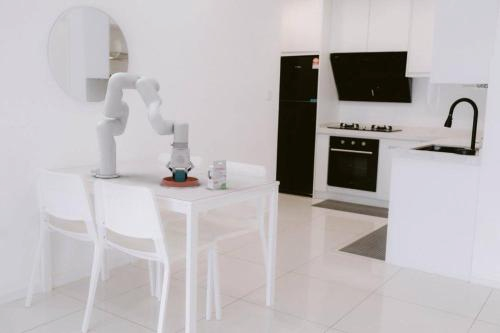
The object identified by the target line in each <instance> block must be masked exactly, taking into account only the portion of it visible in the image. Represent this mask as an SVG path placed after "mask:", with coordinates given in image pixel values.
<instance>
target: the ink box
mask: <svg viewBox="0 0 500 333" xmlns="http://www.w3.org/2000/svg"><path fill="white" fill-rule="evenodd" d="M212 162H213V165H207V184H206V185H207V189H210V190H218V189H221V190H225V189H227V160H226V159H221V160H220V159H219V160H213V161H212Z"/></svg>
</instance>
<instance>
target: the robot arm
mask: <svg viewBox="0 0 500 333" xmlns="http://www.w3.org/2000/svg"><path fill="white" fill-rule="evenodd" d="M160 87H161V86H160V83H159V81H158V80H157V79H155V78H153V77H150V76H146V75H143V74H138V73H133V72H132V73H131V72H124V71H123V72H122V71H121V72H120V71H119V72H116V73H113V74H111V75H110V76H109V78H108V81H107V89H106V94H105V98H104V102H103V106H102V114H103V116H104V117H106V118H109V119H102V120H100V121H98V122H97V123H96V126H95V133H96V136H97V155H98V156H97V160H98V161H97V162H98V165H97V166H98V167H97V168H90V169H89V170H90V171H89V172H90V173H92V174H95V177H96V178H99V179H100V178H101V179H113V178H118V177H120V173H118V172H117V143H116V140H115V137H118V136H121V135H123V134H124V133H125V130H126V128H127V124H128V119H129V115H130V107H129V104H128V103H127V102H126V101H124V100H123V97H124V96H123V95H124V94H123V93H124V92H123V89H125V90H136V91H137V93H138V94H139V96H140V97H141V99H142V101H143V103H144V105H145V106H146V108H147V118H148V121H149V123H150V125H151V127H152V128H153V130H154V131H155V133H156V134H157V135H159V136H173V140H172V141H173V142H170V146H171V147H172V148H171V150H170V158H169V161H168V162H167V164H166V165H165V167H166V168H167V169H168V170H169V171H170V172H171V174H172V175H171V176H172V179H174V181H175V169H184V170H185V181H186V179H187V176H188V174H189V173H190V172H191V170H193V169H194V168H195V165H194V163H193V162H192V161H191V151H190V148H189V128H190V127H189V126H190V125H189V123H188V122H187V121H177V120H173V119H169V120H168V119H166V120H165V119H164V118H163V117H162V115H161V113H160V106H162V104H163V99H162V98H161V95H160V94H159V91H160V89H161V88H160Z"/></svg>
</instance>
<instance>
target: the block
mask: <svg viewBox="0 0 500 333" xmlns="http://www.w3.org/2000/svg"><path fill="white" fill-rule="evenodd" d="M175 182H185V169H184V168H175Z"/></svg>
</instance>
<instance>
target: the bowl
mask: <svg viewBox="0 0 500 333" xmlns="http://www.w3.org/2000/svg"><path fill="white" fill-rule="evenodd" d="M161 185H162V186H165V187H171V188H192V187H197V186H199V185H200V178H198V177H195V176H188V175H187V179H186V181H185V182H175V181H174V179H172V175H171V176H166V177H162V178H161Z"/></svg>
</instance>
